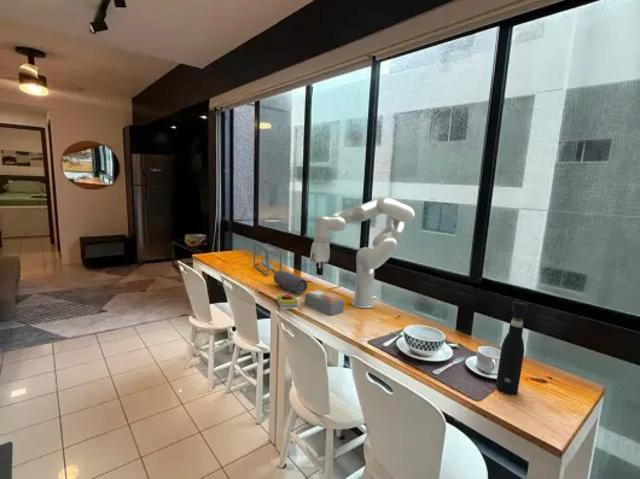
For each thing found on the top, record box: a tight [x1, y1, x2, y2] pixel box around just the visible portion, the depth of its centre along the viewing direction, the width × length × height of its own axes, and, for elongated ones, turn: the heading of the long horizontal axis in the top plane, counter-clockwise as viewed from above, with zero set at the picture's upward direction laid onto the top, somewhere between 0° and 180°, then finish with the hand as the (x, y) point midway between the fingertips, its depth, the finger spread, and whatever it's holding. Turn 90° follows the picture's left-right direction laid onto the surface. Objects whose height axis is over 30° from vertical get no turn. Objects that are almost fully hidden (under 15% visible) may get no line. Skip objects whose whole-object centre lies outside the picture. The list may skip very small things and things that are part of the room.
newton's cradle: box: [252, 243, 283, 277], centre depth 246 cm, size 30×10×18 cm, turn 28°
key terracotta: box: [323, 292, 341, 303], centre depth 174 cm, size 6×6×5 cm
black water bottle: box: [495, 300, 528, 396], centre depth 111 cm, size 6×6×30 cm
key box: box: [304, 292, 345, 317], centre depth 178 cm, size 9×19×6 cm, turn 44°
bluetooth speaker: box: [273, 270, 308, 294], centre depth 205 cm, size 23×9×10 cm, turn 42°
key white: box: [309, 289, 327, 298], centre depth 181 cm, size 6×6×5 cm
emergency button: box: [276, 294, 300, 310], centre depth 182 cm, size 9×4×15 cm
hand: (319, 274), depth 179 cm, fingers closed
